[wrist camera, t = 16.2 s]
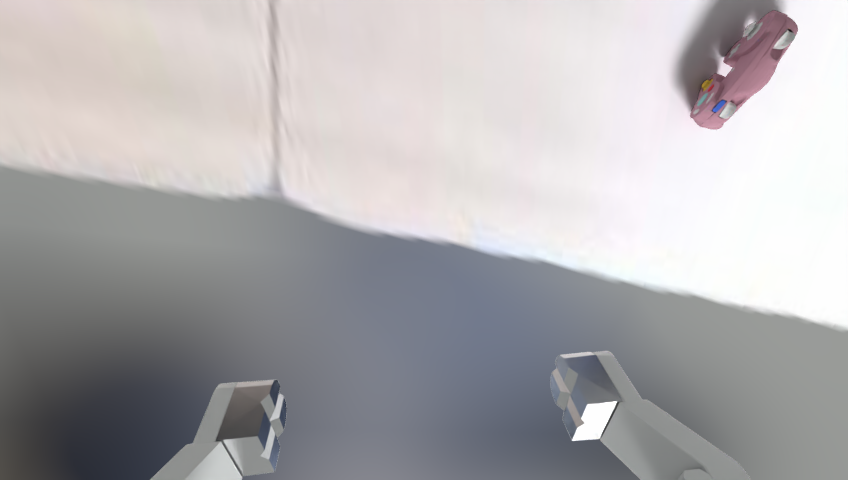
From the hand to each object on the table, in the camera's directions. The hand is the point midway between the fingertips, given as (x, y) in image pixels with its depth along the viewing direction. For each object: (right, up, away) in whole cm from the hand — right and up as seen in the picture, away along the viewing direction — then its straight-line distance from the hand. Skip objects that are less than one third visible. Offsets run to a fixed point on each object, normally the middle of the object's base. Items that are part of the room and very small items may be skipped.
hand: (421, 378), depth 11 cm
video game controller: (+29, +21, +25) cm, 43 cm away
